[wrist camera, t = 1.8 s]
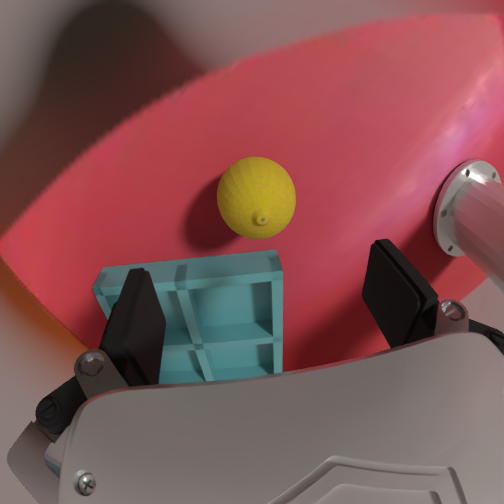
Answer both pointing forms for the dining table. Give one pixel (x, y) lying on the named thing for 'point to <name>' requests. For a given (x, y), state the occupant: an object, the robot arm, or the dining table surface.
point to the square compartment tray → (212, 314)
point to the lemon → (256, 197)
